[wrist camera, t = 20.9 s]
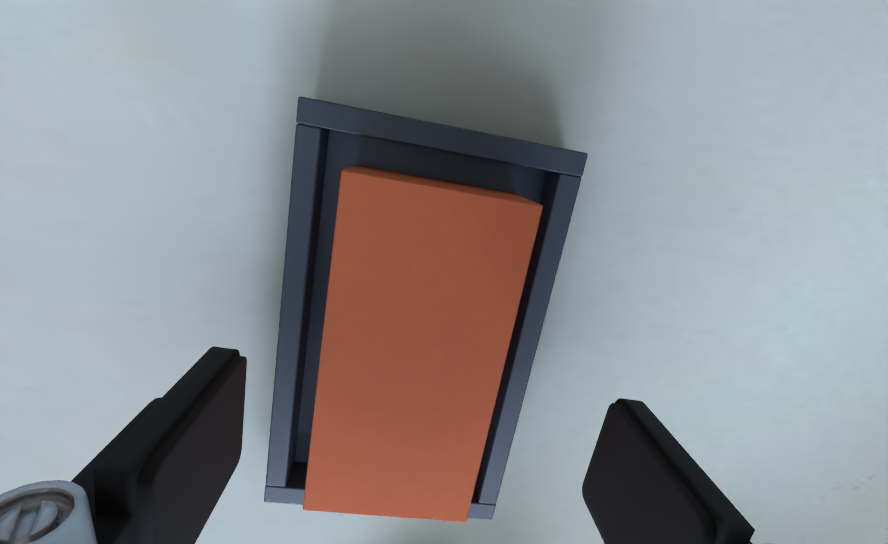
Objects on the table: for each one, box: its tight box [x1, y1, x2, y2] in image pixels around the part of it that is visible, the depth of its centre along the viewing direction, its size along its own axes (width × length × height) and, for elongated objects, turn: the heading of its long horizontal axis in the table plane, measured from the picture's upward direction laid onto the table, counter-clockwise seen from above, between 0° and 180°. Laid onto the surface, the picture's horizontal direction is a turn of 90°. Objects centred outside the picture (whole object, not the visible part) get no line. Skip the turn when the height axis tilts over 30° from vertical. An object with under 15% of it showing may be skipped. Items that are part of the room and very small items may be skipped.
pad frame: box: [264, 97, 588, 519], centre depth 17 cm, size 16×10×2 cm, turn 170°
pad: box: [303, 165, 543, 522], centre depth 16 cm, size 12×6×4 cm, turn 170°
